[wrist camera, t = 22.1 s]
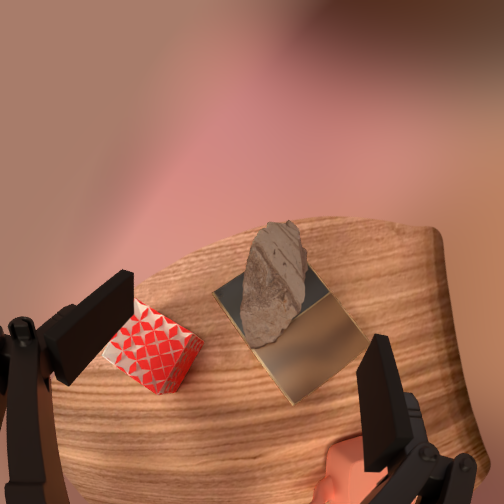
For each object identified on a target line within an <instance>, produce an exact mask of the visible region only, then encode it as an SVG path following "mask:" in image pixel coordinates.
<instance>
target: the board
mask: <svg viewBox="0 0 504 504" xmlns="http://www.w3.org/2000/svg"><path fill="white" fill-rule="evenodd" d="M307 265H308V270H307V271H306V273H305V280H304V285H305V298H304V302H303V303H302V304H301V311H300V313H299V314H298V315H297V316H295V317H293V318H292V320H291V322H290V324H289V325H288V327H287V328H286V329H284V331H283V334H282V335H280V336H279V337H278V338H277V342H275V343H268V344H266V345H265V346H264V347H261V348H259V349H251V351H252V352H253V354H254V355H255V356H256V358H257V359H258V361H259V362H260V363H261V365H262V366H263V367H264V369H265V370H266V372H267V373H268V374H269V376H270V377H271V378H272V380H273V381H274V382H275V384H276V385H277V386H278V388H279V389H280V390H281V392H282V393H283V394H284V396H285V397H286V398H287V400H288V401H289V402H290V404H291V405H292V406H294V405H296V404H297V403H298V402H300V401H301V400H303V399H304V398H305V397H307V396H308V395H309V394H311V393H312V392H313V391H315V390H316V389H317V388H319V387H320V386H321V385H323V384H324V383H325V382H326V381H328V380H329V379H330V378H332V377H333V376H334V375H335V374H337V373H338V372H339V371H340V370H342V369H343V368H344V367H345V366H346V365H348V364H349V363H350V362H351V361H352V360H354V359H355V358H356V357H357V356H358V355H359V354H361V353H362V352H363V351H364V350H365V349H366V348H368V347H369V345H370V343H371V342H370V341H369V340H368V338H367V337H366V336H365V334H364V333H363V332H362V331H361V329H360V328H359V327H358V325H357V324H356V323H355V321H354V320H353V319H352V318H351V316H350V315H349V314H348V312H347V311H346V310H345V308H344V307H343V306H342V305H341V303H340V302H339V301H338V299H337V298H336V297H335V296H334V294H333V293H332V292H331V291H330V289H329V288H328V287H327V285H326V284H325V283H324V282H323V280H322V279H321V278H320V277H319V275H318V274H317V273H316V272H315V270H314V269H313V268H312V267H311V265H310V264H309V263H308V262H307ZM244 273H245V272H243V273H242V274H240V275H239V276H237V277H236V278H234V279H233V280H231V281H229V282H228V283H226V284H225V285H223V286H222V287H220V288H219V289H217V290H216V291H214V292H212V294H213V296H214V298H215V299H216V301H217V302H218V304H219V305H220V306H221V308H222V309H223V311H224V312H225V314H226V315H227V317H228V318H229V320H230V321H231V322H232V324H233V325H234V327H235V328H236V330H237V331H238V333H239V334H240V335H241V337H242V338H243V340H244V341H245V342H246V344H247V345H248V347H249V344H248V343H247V341H246V337H245V333H244V330H243V325H242V320H241V317H240V306H241V303H242V300H243V280H244ZM249 348H250V347H249Z"/></svg>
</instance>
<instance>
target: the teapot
mask: <svg viewBox="0 0 504 504" xmlns="http://www.w3.org/2000/svg"><path fill="white" fill-rule="evenodd" d="M387 474H388V471H387V467H386V468H384V469H383V470H382V471H381V472H380V473H376V472H364V455H363V439H362V436H359V437H356V438H352V439H349V440H345V441H342V442H339V443H336V444H334V445H332V446H331V447H330V448H329V450H328V454H327V461H326V477H325V478H323V479H322V480H320V481H319V482H318V483H317V485H316V486H315V489H314V493H313V500H312V502H311V503H310V504H325V502H328V501H330V504H360V503H361V502H362V501H363V500H364V499H365V497H366V496H367V495H368V494H369V493H370V492H371V491H372V490H373V489H374V488H375V487H376V486H377V483H378V482H379V481H380V480H381V479H382V478H383V477H384V476H385V475H387ZM414 502H415V499H414V500H413V502H412V503H411V504H414Z"/></svg>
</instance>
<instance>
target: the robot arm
mask: <svg viewBox="0 0 504 504" xmlns="http://www.w3.org/2000/svg"><path fill="white" fill-rule="evenodd" d="M133 315H134V273H133V272H130V271H126V270H123V269H122V270H120V271H119V272H118V273H117V274H115V275H114V276H113V277H112V278H110V279H109V280H108V281H106V282H105V283H104V284H103V285H101V286H100V287H99V288H98V289H96V290H95V291H94V292H93V293H91V294H90V295H89V296H88V297H87V298H85V299H84V300H83V301H82V302H80V303H79V304H78V305H77V306H76V305H74V304H71V305H68V306H66V307H63V308H62V309H61V310H60V311H59V312H57V314H55V315H54V316H53V317H52V318H50V319H49V320H48V321H46V322H45V323H44V324H43V325H42V326H40V327H39V328H38V329H37V330H36V329H35V326H34V322H33V320H32V319H31V318H28V317H17V318H15V319H13V320H12V321H11V322H10V323H9V325H8V329H9V332H10V335H11V336H10V335H6V334H4V332H3V329H2V327H1V326H0V430H1V426H2V422H3V418H4V414H5V411H6V407H7V453H8V467H9V477H10V480H9V482H8V483H6V484H5V498H6V504H70V502H69V498H68V494H67V490H66V486H65V482H64V477H63V472H62V467H61V462H60V457H59V451H58V445H57V438H56V431H55V423H54V413H53V403H52V389H51V379H50V375H51V374H52V372H53V371H54V373H55V376H56V379H57V380H58V381H60V382H62V383H63V384H65V385H67V386H70V385H71V384H72V383H73V381H74V380H75V379H76V378H77V377H78V376H79V375H80V373H81V372H82V371H83V370H84V369H85V368H86V367H87V365H88V364H89V363H90V362H91V361H92V360H93V359H94V358H95V356H96V355H97V354H98V353H99V352H100V351H101V350H102V349H103V347H104V346H105V345H106V344H107V343H108V342H109V341H110V340H111V339H112V338H113V336H114V335H115V334H116V333H117V332H118V331H119V330H120V329H121V328H122V327H123V326H124V324H125V323H126V322H127V321H128V320H129V319H130V318H131V317H132V316H133ZM356 375H357V384H358V393H359V403H360V414H361V426H362V439H363V455H364V472H376V473H380V472H381V471H382V470H383V469H384V468H386V467H387V471H388V474H387V475H385V476H384V477H383V478H382V479H381V480H380V481H379V482H378V483H377V486H376V487H375V488H374V489H373V490H372V491H371V492H370V493H369V494H368V495H367V496H366V497H365V499H364V500H363V501H362V502H361V503H360V504H411V503H412V502H413V500H414V499H415V498H416V496H417V495H418V497H417V500H416V503H415V504H470V503H471V498H472V493H473V488H474V483H475V477H476V471H477V464H476V461H475V459H474V458H473V457H472V456H470V455H469V454H466V453H462V454H459V455H458V456H456V457H455V458H454V459H452V458H448V457H445V456H441V455H439V451H438V449H437V448H436V447H435V446H434V445H433V444H431V443H429V442H428V439H427V434H426V430H425V426H424V422H423V418H422V414H421V411H420V407H419V403H418V401H417V399H416V398H415V396H414V395H413V394H412V393H407V392H403V388H402V384H401V380H400V377H399V373H398V369H397V366H396V362H395V359H394V355H393V352H392V348H391V345H390V342H389V338H388V336H385V335H380V334H374V337H373V339H372V341H371V343H370V345H369V347H368V349H367V351H366V353H365V355H364V357H363V359H362V361H361V363H360V365H359V367H358V369H357V371H356Z"/></svg>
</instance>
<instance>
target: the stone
mask: <svg viewBox="0 0 504 504" xmlns="http://www.w3.org/2000/svg"><path fill="white" fill-rule="evenodd" d="M307 270H308V265H307V251H306V249H305V248H303V247H302V244H301V239H300V231H299V228H298V227H297V226H296V225H295V224H294V223H292V222H291V221H290V220H288V221H287V222H286V223H276V222H268V223H267V228H263V229H261V230H260V231H259V232H258V234H257V236H256V237H255V238H254V240H253V243H252V245H251V248H250V253H249V257H248V259H247V265H246V269H245V273H244V280H243V300H242V303H241V306H240V317H241V320H242V325H243V330H244V333H245V337H246V341H247V343H248V344H249V347H250V349H259V348H261V347H264V346H265V345H266V344H268V343H275V342H277V338H278V337H279V336H280V335H282V334H283V331H284V329H286V328H287V327H288V325H289V324H290V322H291V320H292V318H293V317H295V316H297V315H298V314H299V313H300V311H301V304H302V303H303V302H304V298H305V285H304V280H305V273H306V271H307Z"/></svg>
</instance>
